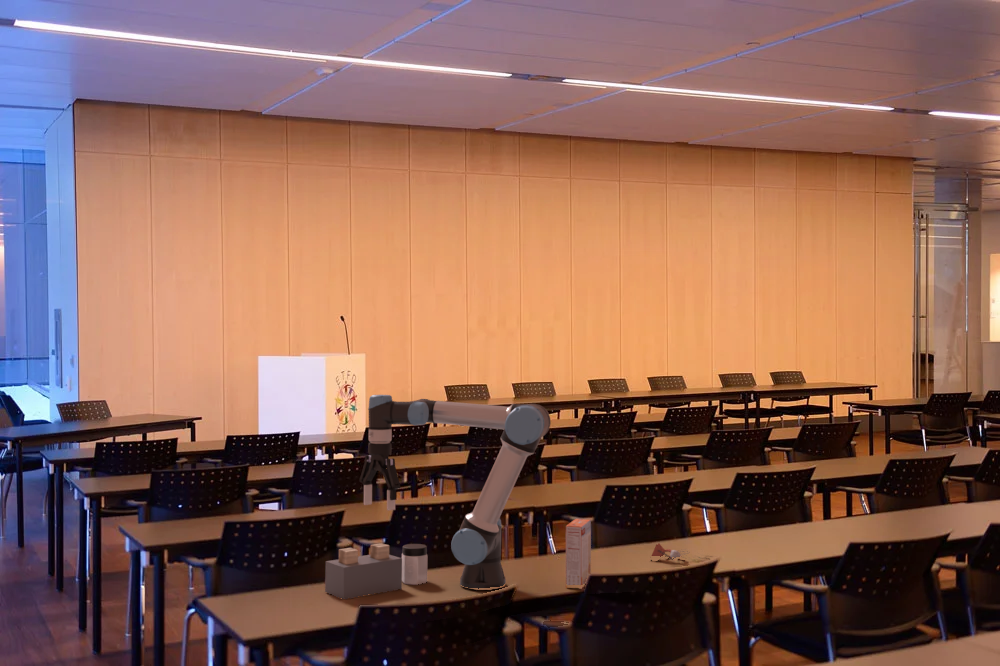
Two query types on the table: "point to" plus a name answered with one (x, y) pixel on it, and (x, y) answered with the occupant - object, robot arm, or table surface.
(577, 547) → the cracker box
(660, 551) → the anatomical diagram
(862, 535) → the table surface
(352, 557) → the tan wooden block
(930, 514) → the table surface
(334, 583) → the peg block
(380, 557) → the peg
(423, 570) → the jar
